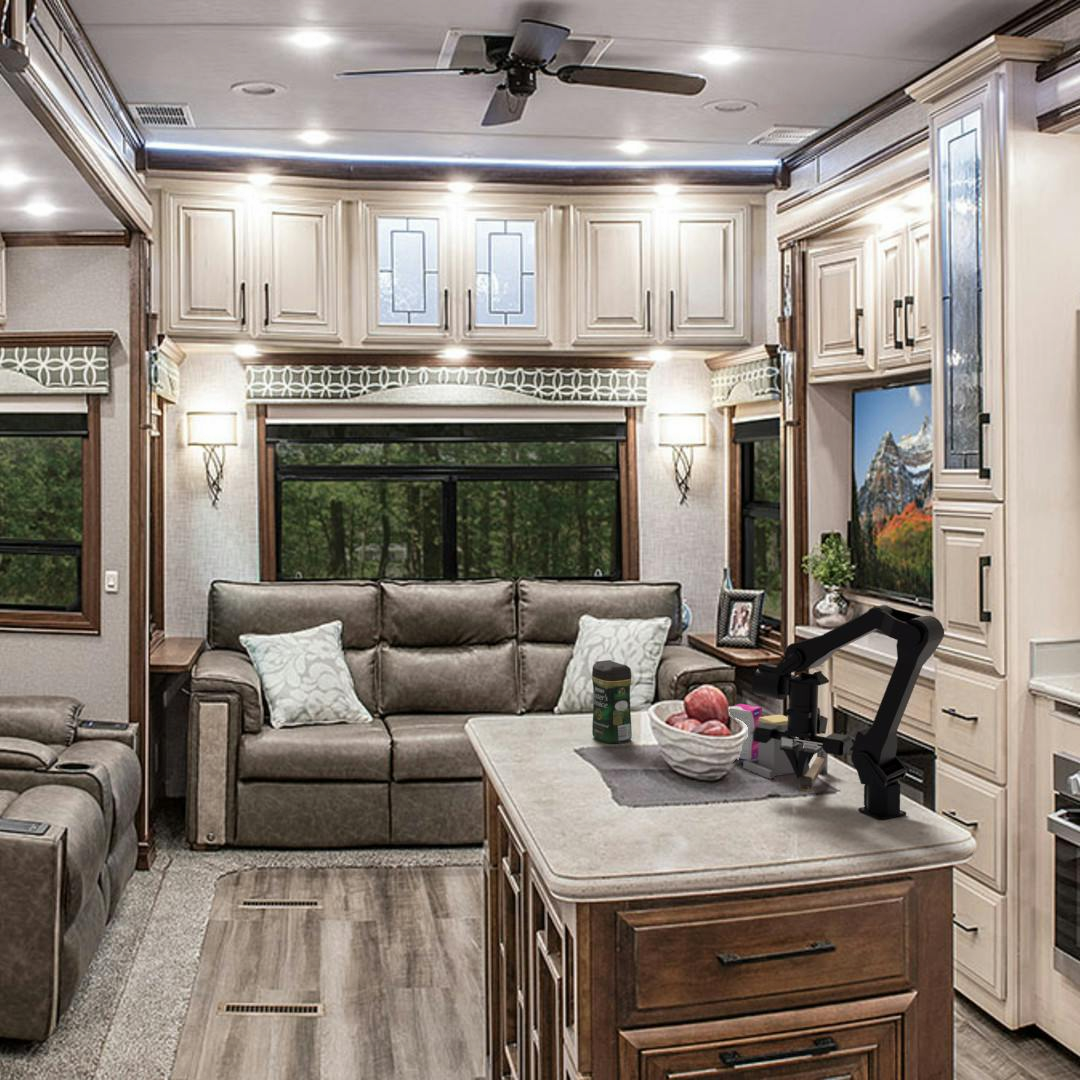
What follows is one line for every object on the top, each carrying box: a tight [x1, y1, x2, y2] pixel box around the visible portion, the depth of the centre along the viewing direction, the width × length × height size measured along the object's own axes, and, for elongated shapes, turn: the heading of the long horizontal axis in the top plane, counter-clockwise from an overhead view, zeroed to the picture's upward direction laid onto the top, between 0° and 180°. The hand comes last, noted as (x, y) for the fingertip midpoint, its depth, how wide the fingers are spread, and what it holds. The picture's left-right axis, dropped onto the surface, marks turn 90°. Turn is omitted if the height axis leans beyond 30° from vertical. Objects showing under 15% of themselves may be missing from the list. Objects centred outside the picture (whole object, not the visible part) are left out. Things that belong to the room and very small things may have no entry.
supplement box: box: [729, 703, 763, 762], centre depth 274 cm, size 6×6×12 cm
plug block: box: [758, 714, 797, 776], centre depth 263 cm, size 6×6×11 cm
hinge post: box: [816, 749, 829, 775], centre depth 261 cm, size 2×2×6 cm
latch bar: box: [797, 756, 826, 793], centre depth 249 cm, size 3×22×2 cm, turn 159°
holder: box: [742, 758, 810, 780], centre depth 264 cm, size 10×10×2 cm
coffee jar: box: [591, 659, 633, 744], centre depth 291 cm, size 10×8×19 cm
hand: (800, 781), depth 245 cm, fingers closed
